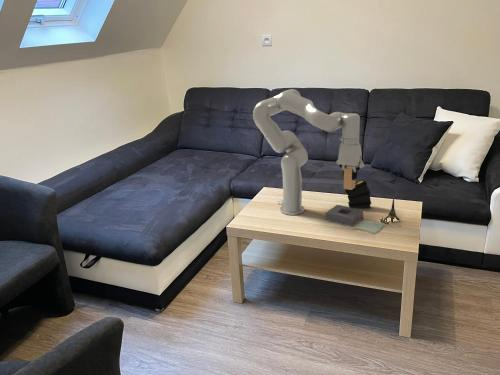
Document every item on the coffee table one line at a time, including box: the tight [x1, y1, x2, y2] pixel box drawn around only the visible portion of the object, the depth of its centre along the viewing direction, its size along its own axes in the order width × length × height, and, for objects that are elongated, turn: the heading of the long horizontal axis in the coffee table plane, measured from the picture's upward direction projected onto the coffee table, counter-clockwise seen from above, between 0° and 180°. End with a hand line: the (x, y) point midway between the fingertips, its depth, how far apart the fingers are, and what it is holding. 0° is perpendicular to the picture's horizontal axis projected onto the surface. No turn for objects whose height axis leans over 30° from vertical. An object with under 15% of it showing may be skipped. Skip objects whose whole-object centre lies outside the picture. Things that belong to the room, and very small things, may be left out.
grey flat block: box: [325, 204, 364, 227], centre depth 211 cm, size 14×12×4 cm
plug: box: [343, 166, 356, 190], centre depth 202 cm, size 4×4×10 cm
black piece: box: [344, 178, 372, 209], centre depth 222 cm, size 4×13×15 cm, turn 83°
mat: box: [354, 219, 385, 235], centre depth 201 cm, size 10×10×1 cm
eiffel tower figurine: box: [379, 196, 402, 228], centre depth 206 cm, size 15×10×13 cm
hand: (349, 178), depth 202 cm, fingers closed on plug, 4 cm apart
